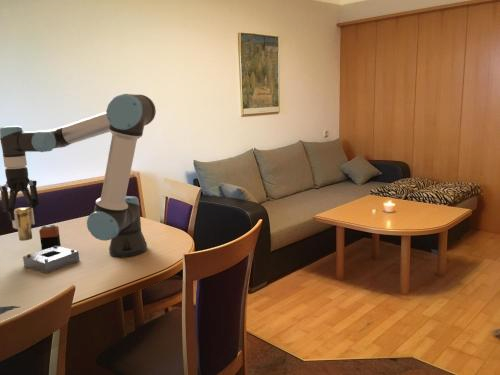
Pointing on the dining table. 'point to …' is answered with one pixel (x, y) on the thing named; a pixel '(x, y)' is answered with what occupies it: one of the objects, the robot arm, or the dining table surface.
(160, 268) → the dining table surface
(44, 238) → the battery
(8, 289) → the dining table surface
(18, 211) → the knob
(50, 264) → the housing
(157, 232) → the dining table surface
